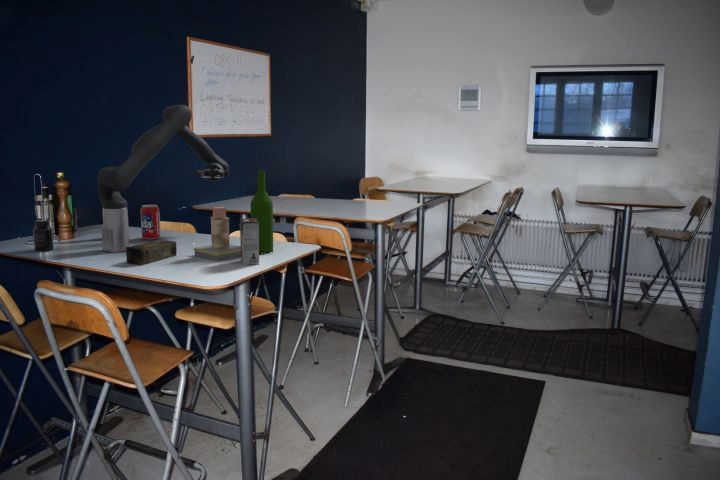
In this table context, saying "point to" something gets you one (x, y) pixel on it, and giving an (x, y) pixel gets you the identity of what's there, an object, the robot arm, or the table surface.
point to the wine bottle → (263, 215)
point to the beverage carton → (150, 252)
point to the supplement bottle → (43, 236)
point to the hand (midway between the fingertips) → (210, 175)
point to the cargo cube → (219, 212)
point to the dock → (218, 252)
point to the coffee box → (249, 240)
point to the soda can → (150, 222)
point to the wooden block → (220, 233)
